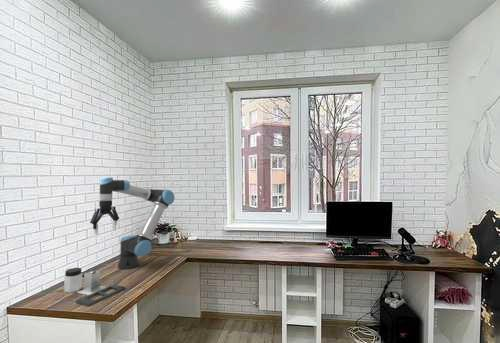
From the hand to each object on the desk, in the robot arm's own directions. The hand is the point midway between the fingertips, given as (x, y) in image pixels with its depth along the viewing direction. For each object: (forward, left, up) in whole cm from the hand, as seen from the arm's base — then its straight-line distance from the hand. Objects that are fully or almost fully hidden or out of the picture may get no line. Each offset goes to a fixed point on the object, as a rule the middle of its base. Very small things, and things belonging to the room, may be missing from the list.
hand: (105, 232), depth 177 cm
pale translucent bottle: (+14, +7, -31) cm, 35 cm away
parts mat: (+14, +7, -32) cm, 35 cm away
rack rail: (+17, +19, -32) cm, 41 cm away
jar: (+18, -4, -32) cm, 37 cm away
